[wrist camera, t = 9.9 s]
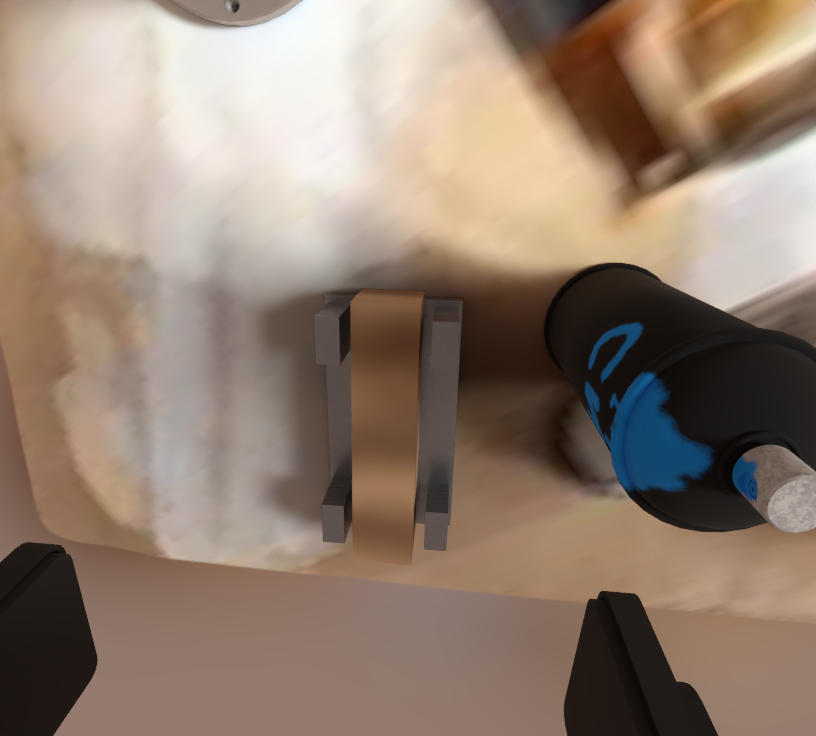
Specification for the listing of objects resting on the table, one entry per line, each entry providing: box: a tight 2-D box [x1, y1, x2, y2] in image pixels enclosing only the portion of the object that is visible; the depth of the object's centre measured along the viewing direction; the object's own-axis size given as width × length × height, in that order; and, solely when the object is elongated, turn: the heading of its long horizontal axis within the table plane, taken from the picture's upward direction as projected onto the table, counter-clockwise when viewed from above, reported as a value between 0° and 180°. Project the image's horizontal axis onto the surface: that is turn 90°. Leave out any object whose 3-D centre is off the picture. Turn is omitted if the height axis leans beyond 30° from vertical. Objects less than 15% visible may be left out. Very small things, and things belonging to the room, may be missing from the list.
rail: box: [350, 289, 425, 565], centre depth 34 cm, size 18×4×4 cm, turn 178°
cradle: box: [314, 293, 463, 551], centre depth 35 cm, size 17×9×4 cm, turn 179°
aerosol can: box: [544, 263, 816, 533], centre depth 24 cm, size 8×8×20 cm
